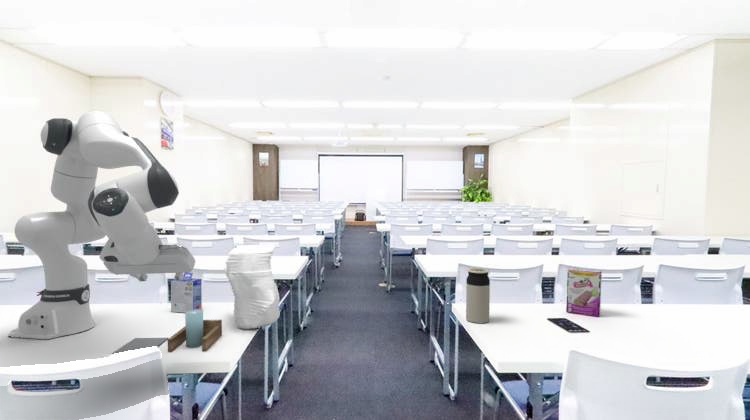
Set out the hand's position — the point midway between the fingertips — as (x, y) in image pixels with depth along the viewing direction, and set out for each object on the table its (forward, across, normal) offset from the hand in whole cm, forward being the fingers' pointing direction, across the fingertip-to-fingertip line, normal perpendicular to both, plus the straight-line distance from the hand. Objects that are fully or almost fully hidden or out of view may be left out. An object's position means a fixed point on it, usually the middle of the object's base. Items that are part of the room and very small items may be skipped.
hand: (162, 278), depth 107 cm
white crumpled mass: (+39, -14, -7) cm, 42 cm away
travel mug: (+40, -94, -6) cm, 102 cm away
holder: (+25, -3, +6) cm, 26 cm away
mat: (+23, +12, +8) cm, 27 cm away
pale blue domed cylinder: (+25, -3, +6) cm, 26 cm away
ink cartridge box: (+49, +14, -18) cm, 54 cm away
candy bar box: (+45, -136, -10) cm, 143 cm away
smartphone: (+36, -123, 0) cm, 128 cm away
